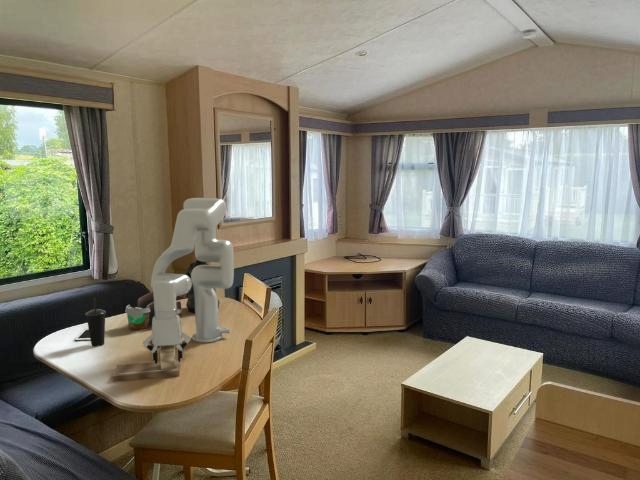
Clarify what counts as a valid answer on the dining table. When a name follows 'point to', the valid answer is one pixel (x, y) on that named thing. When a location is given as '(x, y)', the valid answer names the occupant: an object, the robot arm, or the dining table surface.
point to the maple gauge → (167, 356)
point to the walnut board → (144, 371)
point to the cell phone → (83, 336)
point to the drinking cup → (96, 325)
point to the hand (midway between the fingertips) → (168, 360)
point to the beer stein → (191, 299)
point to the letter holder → (152, 305)
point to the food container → (137, 318)
